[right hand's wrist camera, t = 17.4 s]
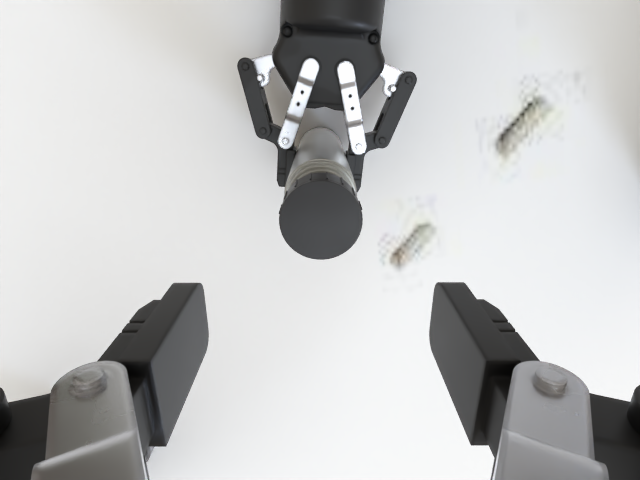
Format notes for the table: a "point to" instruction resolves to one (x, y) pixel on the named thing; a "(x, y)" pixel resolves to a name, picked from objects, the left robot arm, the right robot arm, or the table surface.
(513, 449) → the right robot arm
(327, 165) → the bottle
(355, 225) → the cap
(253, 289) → the table surface
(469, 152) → the table surface
